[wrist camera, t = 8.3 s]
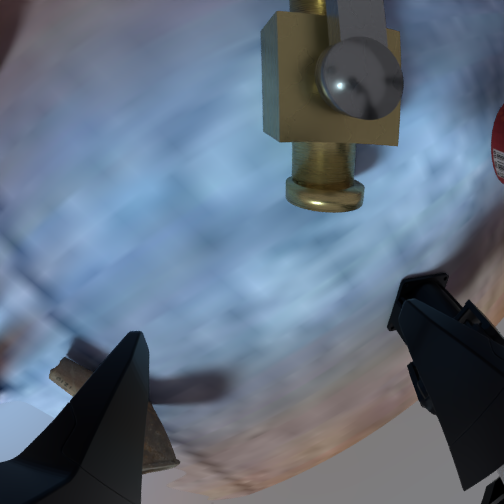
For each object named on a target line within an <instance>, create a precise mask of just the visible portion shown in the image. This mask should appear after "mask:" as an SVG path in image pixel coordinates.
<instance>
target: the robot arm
mask: <svg viewBox="0 0 504 504" xmlns="http://www.w3.org/2000/svg"><path fill="white" fill-rule="evenodd" d="M448 278H449V276H448V275H447V274H446V273H440V274H435V275H429V276H423V277H417V278H411V279H405V280H403V281H402V282H401V283H400V286H399V290H398V293H397V297H396V300H395V303H394V307H393V310H392V313H391V316H390V319H389V322H388V325H387V328H388V330H389V331H394V330H397V332H398V333H399V335H400V336H401V338H402V339H403V341H404V342H405V344H406V345H407V346H408V349H409V352H410V355H411V357H412V359H413V362H410V363H409V364H408V365H407V367H408V370H409V374H410V377H411V380H412V382H413V385H414V388H415V391H416V394H417V397H418V400H419V402H420V404H421V406H422V407H424V408H426V409H427V410H428V411H429V412H431V413H432V414H434V415H436V416H437V417H438V419H439V422H440V424H441V427H442V429H443V432H444V435H445V437H446V440H447V443H448V446H449V449H450V451H451V454H452V457H453V460H454V463H455V466H456V469H457V472H458V475H459V478H460V481H461V485H462V488H463V490H464V491H466V490H467V489H469V488H470V487H472V486H474V485H475V484H477V483H478V482H480V481H481V480H483V479H484V478H486V477H487V476H489V475H490V474H492V473H493V472H494V471H496V470H497V471H498V474H499V477H498V478H497V479H496V480H494V481H493V482H492V483H490V484H489V485H488V486H487V487H486V490H485V493H484V496H483V500H482V503H481V504H504V337H503V336H502V335H501V334H500V332H499V331H498V330H497V329H496V327H495V326H494V325H493V324H492V323H491V322H490V321H489V319H488V318H487V317H486V316H485V315H484V314H483V313H482V312H481V311H480V310H479V309H478V308H477V307H476V306H475V305H474V304H473V303H472V302H471V301H470V300H469V299H468V301H467V302H466V303H465V306H464V307H462V306H461V305H460V304H459V303H458V302H457V301H456V299H455V298H454V297H453V296H452V295H451V294H450V293H449V292H448V291H447V290H446V289H445V287H446V284H447V281H448ZM405 284H406V285H405ZM148 399H149V349H148V346H147V343H146V340H145V338H144V335H143V333H142V332H141V331H130V332H129V333H128V334H127V335H126V336H125V337H124V338H123V339H122V340H121V342H120V343H119V344H118V345H117V346H116V347H115V348H114V350H113V351H112V352H111V353H110V354H109V355H108V356H107V358H106V359H105V360H104V361H103V362H102V363H101V365H100V366H99V367H98V368H97V369H96V370H95V372H94V373H93V374H92V375H91V376H90V377H89V379H88V380H87V381H86V382H85V383H84V385H83V386H82V387H81V388H80V389H79V391H78V392H77V393H76V394H75V395H74V397H73V398H72V399H71V400H70V403H68V404H67V405H66V406H65V407H64V409H63V410H62V411H61V412H60V413H59V414H58V416H57V417H56V418H55V419H54V420H53V421H52V423H50V424H49V426H48V427H47V428H46V429H45V430H44V431H43V432H42V433H41V434H40V435H39V436H38V437H37V438H36V439H35V440H34V441H33V442H32V443H31V444H30V445H29V446H28V447H27V448H26V449H25V450H24V451H23V452H22V453H21V454H20V455H18V456H17V457H15V458H13V459H11V460H8V461H5V462H1V463H0V504H141V483H142V466H143V451H144V439H145V428H146V418H147V409H148Z"/></svg>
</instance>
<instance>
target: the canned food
mask: <svg viewBox="0 0 504 504" xmlns="http://www.w3.org/2000/svg"><path fill="white" fill-rule="evenodd" d="M491 154H492V162H493V167H494V170H495V173H496V175H497V177H498V179H499V180H500V181H501V182H502V183H503V184H504V104H503V105H502V107H501V108H500V109H499V111H498V113H497V116H496V119H495V122H494V126H493V130H492V139H491Z"/></svg>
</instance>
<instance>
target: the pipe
mask: <svg viewBox="0 0 504 504" xmlns="http://www.w3.org/2000/svg"><path fill="white" fill-rule="evenodd" d="M93 373H94V372H92V371H90V370H88V369H87V368H85V367H83V366H81V365H79V364H77V363H75V362H73V361H71V360H70V359H68V358H66V357H64V358H63V359H62V360H61V361H60V363H59V365H58V366H56V367H55V368H53V369H51V370H50V374H49V379H51V380H52V381H53V382H54V383H56V384H57V385H58V386H60V387H61V388H62V389H64V390H65V391H66V392H67V393H69V394H70V395H72V396H73V397H74V395H75V394H76V393H77V392H78V391H79V389H80V388H81V387H82V386H83V385H84V383H85V382H86V381H87V380H88V379H89V377H90V376H91V375H92V374H93ZM179 464H180V461H179V460H177V459H176V457H175V454H174V451H173V448H172V446H171V443H170V440H169V438H168V436H167V434H166V431H165V429H164V427H163V425H162V423H161V421H160V419H159V418H158V416H157V414H156V411H155V410H154V408H153V406H152V403H151V402H150V401H148V409H147V418H146V428H145V439H144V451H143V466H142V474H146V473H150V472H156V471H162V470H167V469H171V468H173V467H176V466H177V465H179Z"/></svg>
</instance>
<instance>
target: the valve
mask: <svg viewBox="0 0 504 504" xmlns="http://www.w3.org/2000/svg"><path fill="white" fill-rule="evenodd" d="M289 3H290V12H284V11H276V12H275V14H274V15H273V16H272V17H271V19H270V20H269V21H268V22H267V24H266V25H265V26H264V28H263V29H262V30H261V56H262V95H263V132H265V133H266V134H268V135H269V136H271V137H272V138H274V139H275V140H277V141H278V142H292V176H291V177H289V178H288V179H287V180H286V199H287V200H288V202H290V203H291V204H293V205H295V206H298V207H300V208H304V209H308V210H312V211H319V212H333V213H336V212H348V211H353V210H356V209H358V208H360V207H361V206H362V204H363V198H364V185H363V184H362V183H360V182H359V181H357V180H354V171H355V157H356V143H358V144H375V145H389V146H398V139H399V124H400V103H401V99H400V101H399V103H398V105H397V107H396V108H395V109H394V110H393V111H392V112H391V113H390V114H388V115H387V116H385V117H383V118H380V119H376V120H364V119H359V118H354V117H349V116H345V115H342V114H340V113H338V112H336V111H334V110H333V109H332V108H330V107H329V106H328V105H327V104H326V103H325V101H324V100H323V99H322V97H321V96H320V94H319V92H318V90H317V87H316V83H315V77H314V71H315V65H316V62H317V59H318V57H319V56H320V54H321V53H322V52H323V50H324V49H326V48H327V47H328V46H329V36H328V24H327V12H326V2H325V0H289ZM386 31H387V43H388V49H389V50H390V51H391V52H392V53H393V55H394V56H395V58H396V59H397V61H398V63H399V65H400V67H401V48H400V32H399V31H396V30H392V29H388V28H386Z"/></svg>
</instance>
